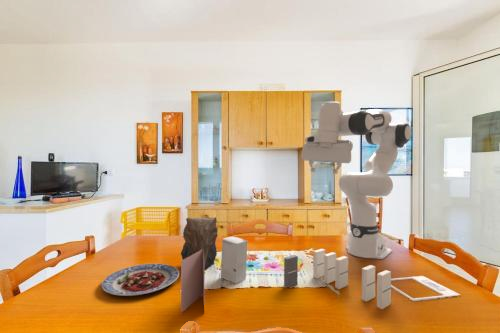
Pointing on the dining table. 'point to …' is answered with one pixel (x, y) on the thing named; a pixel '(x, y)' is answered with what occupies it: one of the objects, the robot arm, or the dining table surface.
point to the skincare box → (233, 259)
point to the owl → (200, 238)
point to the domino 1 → (290, 270)
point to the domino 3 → (329, 267)
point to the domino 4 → (341, 272)
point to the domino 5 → (368, 283)
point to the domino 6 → (383, 289)
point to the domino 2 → (318, 263)
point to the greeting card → (192, 279)
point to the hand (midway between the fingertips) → (323, 172)
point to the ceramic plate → (140, 279)
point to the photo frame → (430, 284)
